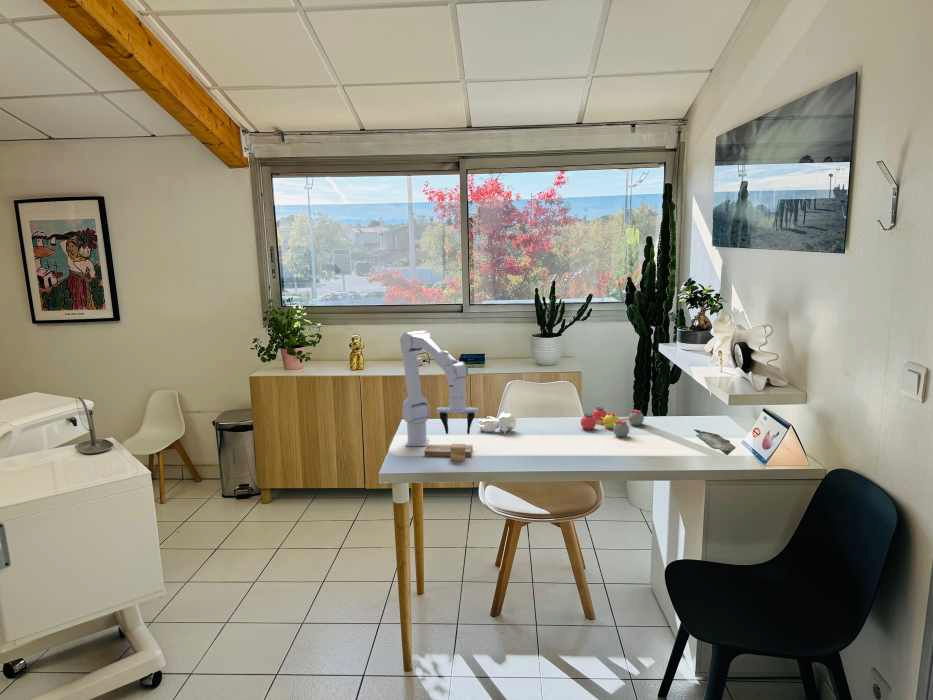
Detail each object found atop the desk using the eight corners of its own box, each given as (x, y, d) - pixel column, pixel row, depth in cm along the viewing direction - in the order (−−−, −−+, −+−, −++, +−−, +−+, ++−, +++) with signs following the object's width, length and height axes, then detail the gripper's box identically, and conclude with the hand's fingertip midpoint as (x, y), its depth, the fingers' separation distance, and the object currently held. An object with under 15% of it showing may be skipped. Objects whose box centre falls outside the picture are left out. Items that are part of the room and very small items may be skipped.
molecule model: (625, 440, 253) (626, 424, 252) (575, 432, 265) (575, 417, 264) (645, 424, 274) (646, 409, 273) (597, 418, 285) (597, 403, 284)
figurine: (477, 411, 268) (513, 405, 266) (481, 419, 274) (516, 414, 271) (478, 433, 262) (515, 427, 259) (483, 441, 268) (518, 436, 265)
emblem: (687, 430, 265) (687, 428, 265) (711, 429, 265) (711, 428, 265) (721, 456, 233) (721, 454, 233) (748, 455, 234) (748, 453, 233)
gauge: (452, 453, 240) (452, 440, 239) (466, 454, 239) (466, 441, 238) (450, 460, 232) (450, 447, 231) (464, 460, 232) (464, 447, 231)
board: (427, 449, 245) (427, 444, 245) (472, 449, 244) (472, 444, 244) (424, 456, 237) (424, 451, 237) (471, 456, 236) (471, 451, 236)
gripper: (435, 399, 227) (436, 436, 229) (476, 399, 226) (477, 436, 228) (437, 394, 234) (438, 430, 236) (477, 394, 233) (478, 430, 235)
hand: (457, 433), depth 233 cm, fingers open, 7 cm apart
